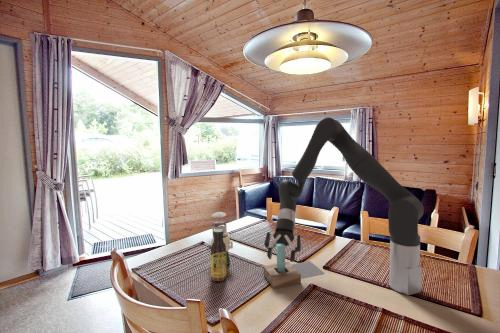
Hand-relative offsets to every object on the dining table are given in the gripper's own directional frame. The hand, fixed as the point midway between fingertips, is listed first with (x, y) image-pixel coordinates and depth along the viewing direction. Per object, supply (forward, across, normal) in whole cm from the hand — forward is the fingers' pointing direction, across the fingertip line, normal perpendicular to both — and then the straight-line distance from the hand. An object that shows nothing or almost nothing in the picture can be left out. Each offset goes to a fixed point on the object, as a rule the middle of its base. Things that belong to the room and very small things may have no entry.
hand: (280, 259), depth 105 cm
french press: (-19, -43, +31) cm, 56 cm away
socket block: (+5, 0, +7) cm, 9 cm away
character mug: (+1, -28, +12) cm, 30 cm away
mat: (-2, +8, +14) cm, 16 cm away
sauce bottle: (+9, -24, +3) cm, 26 cm away
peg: (+5, 0, +7) cm, 9 cm away
